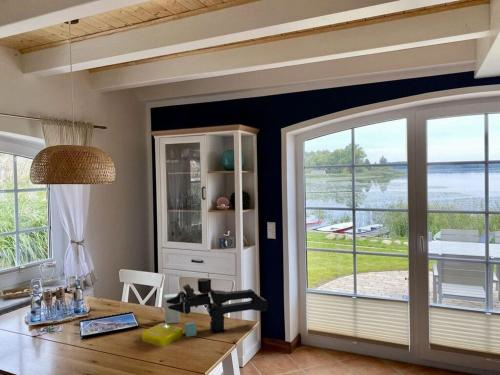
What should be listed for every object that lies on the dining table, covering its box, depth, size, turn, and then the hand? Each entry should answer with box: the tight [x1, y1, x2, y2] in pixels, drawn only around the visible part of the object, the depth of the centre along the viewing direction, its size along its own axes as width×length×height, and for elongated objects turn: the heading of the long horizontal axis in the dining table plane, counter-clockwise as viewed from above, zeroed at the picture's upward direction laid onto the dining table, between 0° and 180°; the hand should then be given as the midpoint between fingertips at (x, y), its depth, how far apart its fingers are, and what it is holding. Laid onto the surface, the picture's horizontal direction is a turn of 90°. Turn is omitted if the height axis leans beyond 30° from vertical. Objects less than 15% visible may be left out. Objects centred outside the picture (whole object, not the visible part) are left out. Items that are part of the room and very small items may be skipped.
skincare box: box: [163, 292, 181, 325], centre depth 209 cm, size 8×6×15 cm
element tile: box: [141, 322, 183, 347], centre depth 188 cm, size 15×15×5 cm
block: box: [184, 321, 197, 338], centre depth 192 cm, size 5×5×5 cm
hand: (167, 304), depth 188 cm, fingers open, 9 cm apart
